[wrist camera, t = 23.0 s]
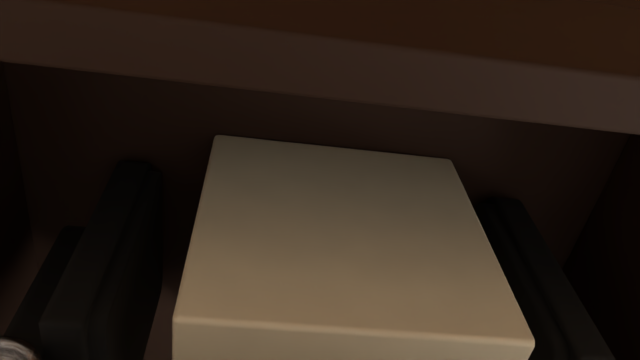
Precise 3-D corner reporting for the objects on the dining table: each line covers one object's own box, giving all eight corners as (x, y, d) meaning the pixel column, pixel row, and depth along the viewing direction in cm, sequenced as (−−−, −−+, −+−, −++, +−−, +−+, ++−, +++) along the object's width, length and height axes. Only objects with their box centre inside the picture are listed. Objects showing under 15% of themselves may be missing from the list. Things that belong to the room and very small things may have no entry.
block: (214, 132, 10) (171, 319, 6) (451, 157, 10) (539, 343, 7) (206, 307, 12) (170, 517, 9) (399, 320, 13) (443, 524, 9)
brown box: (-49, -101, 8) (-281, -42, 5) (702, 8, 10) (922, 112, 6) (55, 449, 16) (-7, 620, 13) (467, 464, 18) (510, 622, 14)
